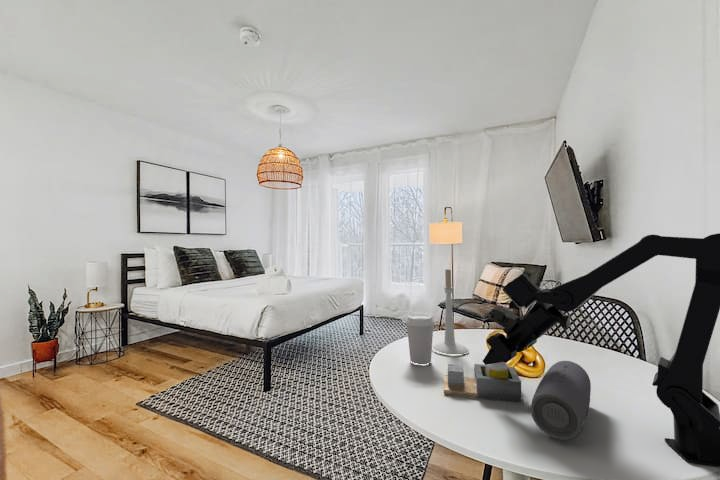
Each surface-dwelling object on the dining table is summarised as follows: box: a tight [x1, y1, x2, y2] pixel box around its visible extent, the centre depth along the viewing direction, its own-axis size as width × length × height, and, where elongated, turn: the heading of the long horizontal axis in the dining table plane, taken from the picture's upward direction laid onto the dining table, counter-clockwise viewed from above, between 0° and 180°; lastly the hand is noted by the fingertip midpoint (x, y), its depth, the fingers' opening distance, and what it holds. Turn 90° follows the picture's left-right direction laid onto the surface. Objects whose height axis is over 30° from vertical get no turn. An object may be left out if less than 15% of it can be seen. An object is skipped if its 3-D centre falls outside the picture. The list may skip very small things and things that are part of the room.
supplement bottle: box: [486, 362, 509, 379], centre depth 82 cm, size 5×5×10 cm
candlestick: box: [432, 268, 469, 354], centre depth 116 cm, size 13×13×30 cm
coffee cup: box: [405, 313, 436, 364], centre depth 104 cm, size 10×10×15 cm
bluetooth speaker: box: [530, 360, 592, 441], centre depth 69 cm, size 23×9×10 cm, turn 141°
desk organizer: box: [443, 363, 523, 404], centre depth 83 cm, size 10×18×5 cm, turn 73°
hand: (490, 359), depth 83 cm, fingers open, 7 cm apart
